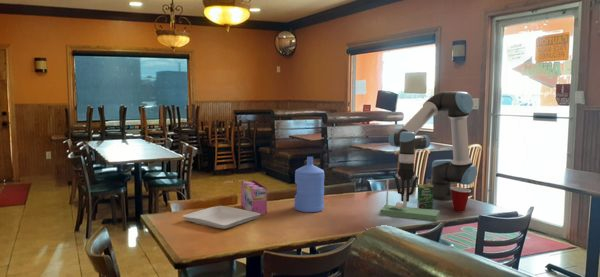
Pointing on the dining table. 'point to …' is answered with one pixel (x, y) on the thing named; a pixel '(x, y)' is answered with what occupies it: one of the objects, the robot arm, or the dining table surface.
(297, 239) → the dining table surface
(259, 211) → the gum box
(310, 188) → the water jug
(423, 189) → the coffee box
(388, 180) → the flag pin
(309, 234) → the dining table surface
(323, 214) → the dining table surface
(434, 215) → the putting mat
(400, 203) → the ball
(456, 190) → the plastic cup
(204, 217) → the square plate
